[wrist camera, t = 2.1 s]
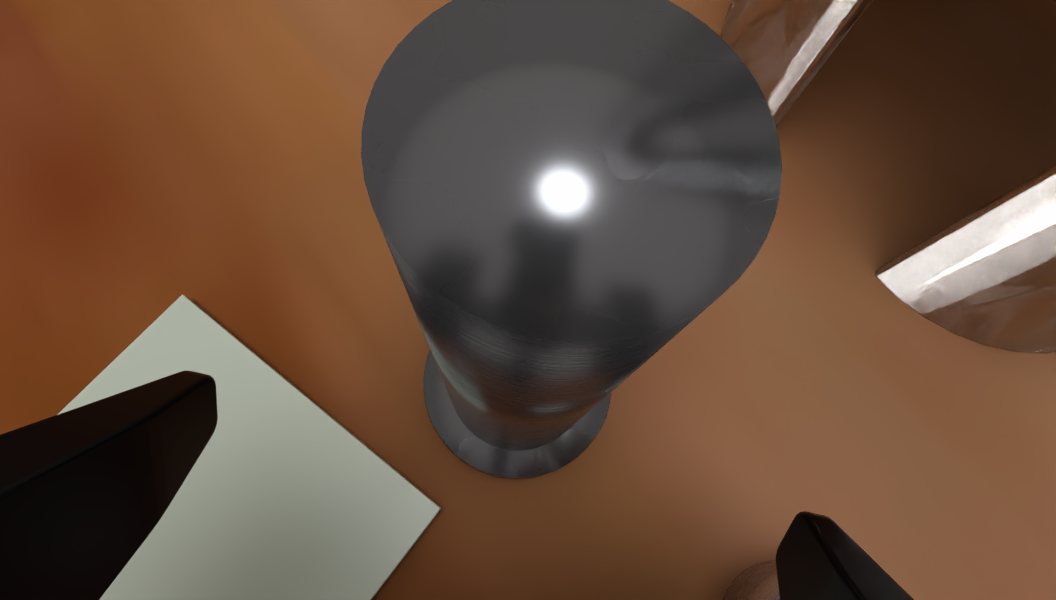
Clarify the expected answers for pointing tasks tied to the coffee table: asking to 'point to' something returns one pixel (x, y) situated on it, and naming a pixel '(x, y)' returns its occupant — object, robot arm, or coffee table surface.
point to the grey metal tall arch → (953, 254)
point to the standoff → (561, 206)
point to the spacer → (755, 583)
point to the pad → (261, 484)
